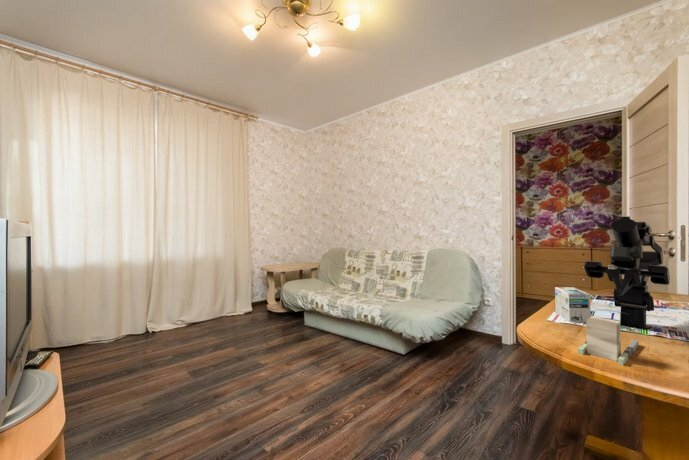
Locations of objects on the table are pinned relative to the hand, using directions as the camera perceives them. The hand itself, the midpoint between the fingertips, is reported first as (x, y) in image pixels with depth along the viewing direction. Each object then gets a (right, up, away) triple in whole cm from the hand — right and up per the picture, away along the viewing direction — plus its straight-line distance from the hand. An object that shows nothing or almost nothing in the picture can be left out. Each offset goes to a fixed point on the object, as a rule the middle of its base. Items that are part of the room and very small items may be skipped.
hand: (619, 294), depth 90 cm
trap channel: (-9, -14, -7) cm, 18 cm away
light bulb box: (0, -13, +19) cm, 23 cm away
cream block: (-13, -14, -10) cm, 21 cm away
